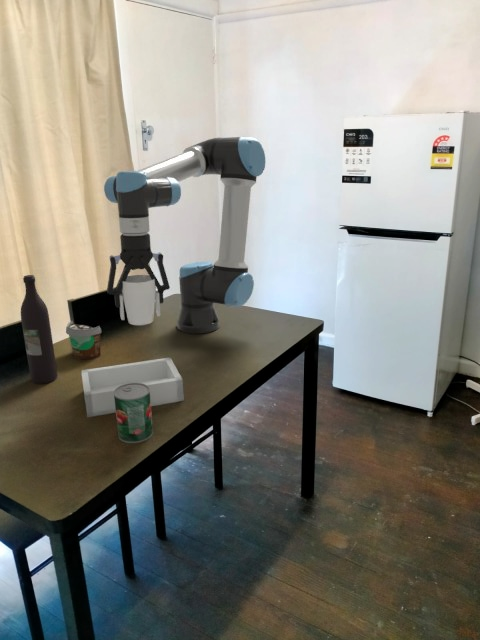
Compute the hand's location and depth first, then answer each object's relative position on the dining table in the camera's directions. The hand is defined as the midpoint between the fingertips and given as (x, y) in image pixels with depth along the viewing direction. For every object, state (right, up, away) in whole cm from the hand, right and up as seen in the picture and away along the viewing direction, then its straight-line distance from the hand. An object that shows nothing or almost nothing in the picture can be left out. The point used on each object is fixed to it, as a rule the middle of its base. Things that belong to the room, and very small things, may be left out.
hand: (140, 316), depth 138 cm
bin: (-1, -21, -4) cm, 21 cm away
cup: (0, -2, +1) cm, 2 cm away
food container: (-22, -12, +21) cm, 33 cm away
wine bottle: (-28, -18, +6) cm, 34 cm away
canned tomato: (+3, -27, -22) cm, 35 cm away
